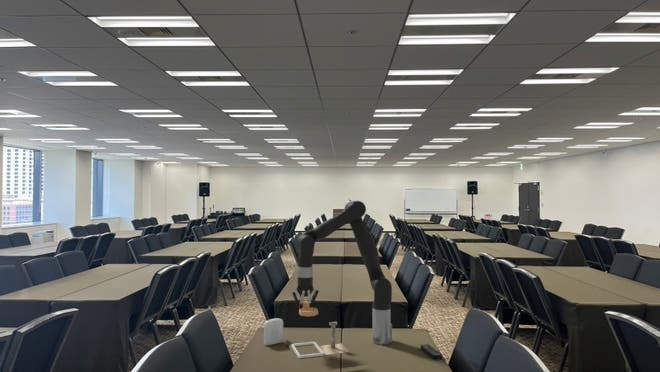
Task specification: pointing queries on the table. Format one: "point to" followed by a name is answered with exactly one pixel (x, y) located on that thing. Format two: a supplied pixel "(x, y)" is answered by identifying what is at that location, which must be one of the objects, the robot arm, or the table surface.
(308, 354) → the white tray
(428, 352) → the multiport hub
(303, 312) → the terracotta ring
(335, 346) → the stake board
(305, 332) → the table surface
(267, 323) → the photo printer
